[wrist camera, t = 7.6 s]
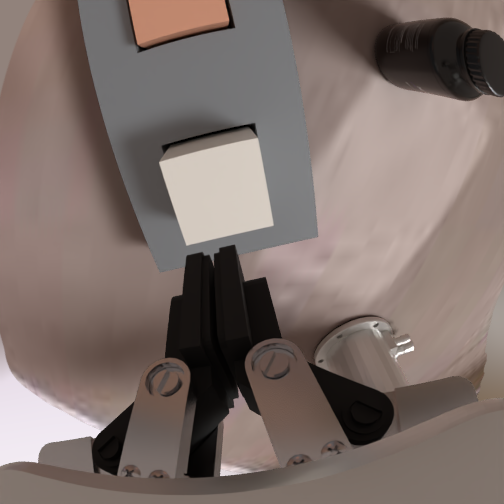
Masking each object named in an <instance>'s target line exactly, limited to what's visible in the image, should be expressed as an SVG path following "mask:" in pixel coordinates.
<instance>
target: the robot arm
mask: <svg viewBox="0 0 504 504" xmlns="http://www.w3.org/2000/svg"><path fill="white" fill-rule="evenodd" d="M392 337H393V331H392V328H391V326H390V325H389V323H388V322H387V321H386V320H385V319H382V318H379V317H364V318H359V319H356V320H352V321H350V322H348V323H345V324H343V325H342V326H340V327H338V328H336V329H335V330H334V331H332V332H331V333H329V334H328V335H327V336H326V337H325V338H324V339H323V340H322V341H321V343H320V344H319V345H318V347H317V349H316V351H315V354H314V360H315V363H316V365H313V364H311V363H309V362H307V361H306V359H305V357H304V355H303V353H302V351H301V350H300V349H299V347H298V346H297V345H296V344H294V343H293V342H291V341H289V340H285V339H282V337H281V333H280V330H279V326H278V322H277V318H276V314H275V311H274V307H273V303H272V299H271V295H270V292H269V288H268V284H267V280H266V277H263V278H259V279H254V280H250V281H245V280H244V276H243V273H242V269H241V265H240V261H239V257H238V253H237V249H236V246H235V244H234V245H230V246H225V247H221V248H219V252H218V253H214V266H213V263H212V260H211V257H210V255H205V256H204V253H203V252H199V253H195V254H191V255H187V256H186V263H185V273H184V283H183V294H182V295H180V296H175V297H173V298H172V300H171V306H170V314H169V323H168V332H167V342H166V352H165V358H164V359H161V360H158V361H156V362H154V363H153V364H151V365H150V366H149V367H148V368H147V369H146V370H145V371H144V373H143V375H142V378H141V380H140V384H139V387H138V391H137V395H136V398H135V401H134V402H133V403H132V404H131V405H130V406H129V407H128V408H127V409H126V410H125V411H123V412H122V413H121V414H120V415H119V416H118V417H117V418H116V419H115V420H114V421H113V422H111V423H110V424H109V425H108V426H107V427H106V428H105V429H104V430H103V431H101V433H99V434H98V436H97V437H96V438H94V439H93V438H92V437H85V438H79V439H73V440H67V441H60V442H53V443H49V444H46V445H45V446H44V447H43V448H42V449H41V451H40V453H39V458H38V459H39V460H38V463H35V462H14V463H9V464H6V465H3V466H1V467H0V504H504V398H496V399H487V400H483V401H478V398H477V395H476V391H475V388H474V387H473V385H472V383H471V382H470V381H469V380H468V379H466V378H464V377H461V376H452V377H448V378H444V379H440V380H435V381H430V382H426V383H421V384H416V385H410V384H409V382H408V380H407V378H406V376H405V374H404V372H403V370H402V368H401V367H400V365H399V363H398V361H397V357H398V356H400V355H402V354H406V353H409V352H411V351H413V350H414V344H413V342H412V341H411V340H410V336H409V335H408V334H405V335H402V336H400V337H398V338H395V337H393V338H392ZM237 385H238V386H237ZM238 387H239V389H240V391H241V394H242V396H243V397H244V398H245V400H246V402H247V405H248V407H249V409H250V410H252V411H253V412H255V413H257V414H258V415H260V416H262V419H263V422H264V424H265V427H266V430H267V433H268V435H269V438H270V441H271V443H272V446H273V449H274V451H275V454H276V457H277V459H278V462H279V464H280V467H281V468H278V469H273V470H267V471H261V472H254V473H247V474H239V475H231V476H220V467H221V454H222V441H223V428H224V424H223V419H224V418H225V417H226V416H227V415H228V414H229V408H234V402H233V399H235V398H238V397H239V395H238Z"/></svg>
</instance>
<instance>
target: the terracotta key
mask: <svg viewBox="0 0 504 504" xmlns="http://www.w3.org/2000/svg"><path fill="white" fill-rule="evenodd" d="M129 6H130V11H131V16H132V21H133V26H134V30H135V35H136V40H137V44H138V45H139V46H141V47H143V48H145V49H147V50H149V49H152V48H155V47H158V46H161V45H164V44H168V43H171V42H175V41H178V40H182V39H186V38H190V37H194V36H198V35H203V34H207V33H212V32H217V31H222V30H227V28H228V24H229V17H228V13H227V9H226V4H225V0H129Z"/></svg>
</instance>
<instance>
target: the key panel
mask: <svg viewBox="0 0 504 504" xmlns="http://www.w3.org/2000/svg"><path fill="white" fill-rule="evenodd" d="M225 4H226V9H227V13H228V17H229V26H230V29H227V30H222V31H217V32H212V33H207V34H203V35H198V36H194V37H190V38H186V39H182V40H178V41H175V42H171V43H168V44H164V45H161V46H158V47H155V48H152V49H149V50H147V49H145V48H143V47H141V46H139V45H138V44H137V40H136V35H135V30H134V26H133V21H132V16H131V11H130V6H129V0H78V6H79V13H80V19H81V25H82V31H83V36H84V41H85V46H86V51H87V56H88V61H89V65H90V70H91V74H92V78H93V82H94V86H95V90H96V94H97V98H98V102H99V105H100V109H101V112H102V116H103V120H104V123H105V126H106V130H107V133H108V136H109V140H110V143H111V146H112V149H113V152H114V155H115V158H116V161H117V164H118V167H119V170H120V173H121V176H122V179H123V182H124V184H125V187H126V190H127V193H128V195H129V198H130V201H131V203H132V206H133V209H134V211H135V214H136V217H137V219H138V222H139V224H140V227H141V229H142V232H143V234H144V236H145V239H146V241H147V244H148V246H149V249H150V251H151V253H152V256H153V258H154V260H155V262H156V265H157V267H158V269H159V272H165V271H169V270H173V269H178V268H182V267H185V263H186V256H187V255H191V254H195V253H199V252H203V253H204V256H205V255H210V257H211V260H212V261H213V260H214V253H218V252H219V248H221V247H225V246H230V245H234V244H235V246H236V249H237V253H238V255H240V254H244V253H249V252H253V251H258V250H262V249H266V248H271V247H275V246H280V245H284V244H289V243H293V242H297V241H302V240H306V239H311V238H315V237H318V229H317V217H316V206H315V195H314V186H313V176H312V167H311V159H310V151H309V143H308V136H307V128H306V121H305V115H304V108H303V102H302V95H301V89H300V83H299V78H298V72H297V66H296V61H295V56H294V51H293V46H292V41H291V36H290V31H289V26H288V22H287V17H286V13H285V9H284V4H283V0H225ZM246 124H250V125H251V130H252V131H253V132H254V134H255V135H256V136H257V137H258V141H259V146H260V151H261V157H262V162H263V167H264V173H265V178H266V184H267V189H268V195H269V201H270V206H271V212H272V218H273V224H274V226H270V227H265V228H261V229H256V230H252V231H248V232H243V233H239V234H234V235H230V236H226V237H221V238H217V239H213V240H208V241H204V242H200V243H196V244H191V245H187V246H186V243H185V240H184V237H183V234H182V231H181V228H180V226H179V223H178V220H177V217H176V214H175V211H174V208H173V205H172V202H171V199H170V196H169V192H168V189H167V186H166V183H165V180H164V177H163V173H162V170H161V167H160V164H159V161H160V160H161V158H162V157H163V155H164V154H165V153H166V151H167V150H168V148H169V147H170V145H171V143H172V142H175V141H179V140H183V139H186V138H190V137H194V136H198V135H202V134H206V133H210V132H214V131H218V130H222V129H227V128H231V127H236V126H241V125H246Z"/></svg>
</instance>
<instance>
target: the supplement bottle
mask: <svg viewBox="0 0 504 504" xmlns="http://www.w3.org/2000/svg"><path fill="white" fill-rule="evenodd" d="M375 56H376V60H377V63H378V66H379V68H380V70H381V72H382V73H383V74H384V76H385V77H386V78H387V79H388V80H389V81H390V82H391V83H393V84H394V85H396V86H397V87H400V88H402V89H406V90H412V91H418V92H423V93H429V94H434V95H439V96H444V97H448V98H452V99H457V100H462V101H472V100H475V99H477V98H479V97H480V96H482V95H483V94H485V95H493V96H496V97H503V96H504V41H503V39H502V38H501V37H500V36H499V35H497V34H496V33H495V32H492V31H490V30H480V29H477V28H472V27H470V26H469V25H468V24H466V23H465V22H463V21H461V20H458V19H455V18H436V19H427V20H419V21H412V22H405V23H399V24H394V25H390V26H388V27H386V28H384V29H383V30H382V31H381V32H380V33H379V35H378V37H377V39H376V43H375Z"/></svg>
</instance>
